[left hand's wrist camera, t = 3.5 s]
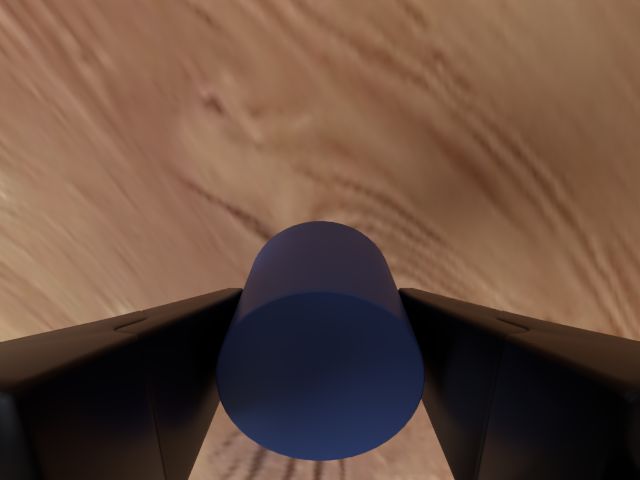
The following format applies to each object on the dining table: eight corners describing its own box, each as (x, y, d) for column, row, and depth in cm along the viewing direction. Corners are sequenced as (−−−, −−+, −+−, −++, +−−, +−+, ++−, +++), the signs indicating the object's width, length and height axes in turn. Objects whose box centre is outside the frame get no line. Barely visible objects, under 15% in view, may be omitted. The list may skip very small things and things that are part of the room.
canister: (242, 336, 13) (207, 448, 9) (258, 209, 11) (225, 273, 7) (373, 356, 13) (397, 472, 9) (406, 233, 12) (451, 309, 8)
